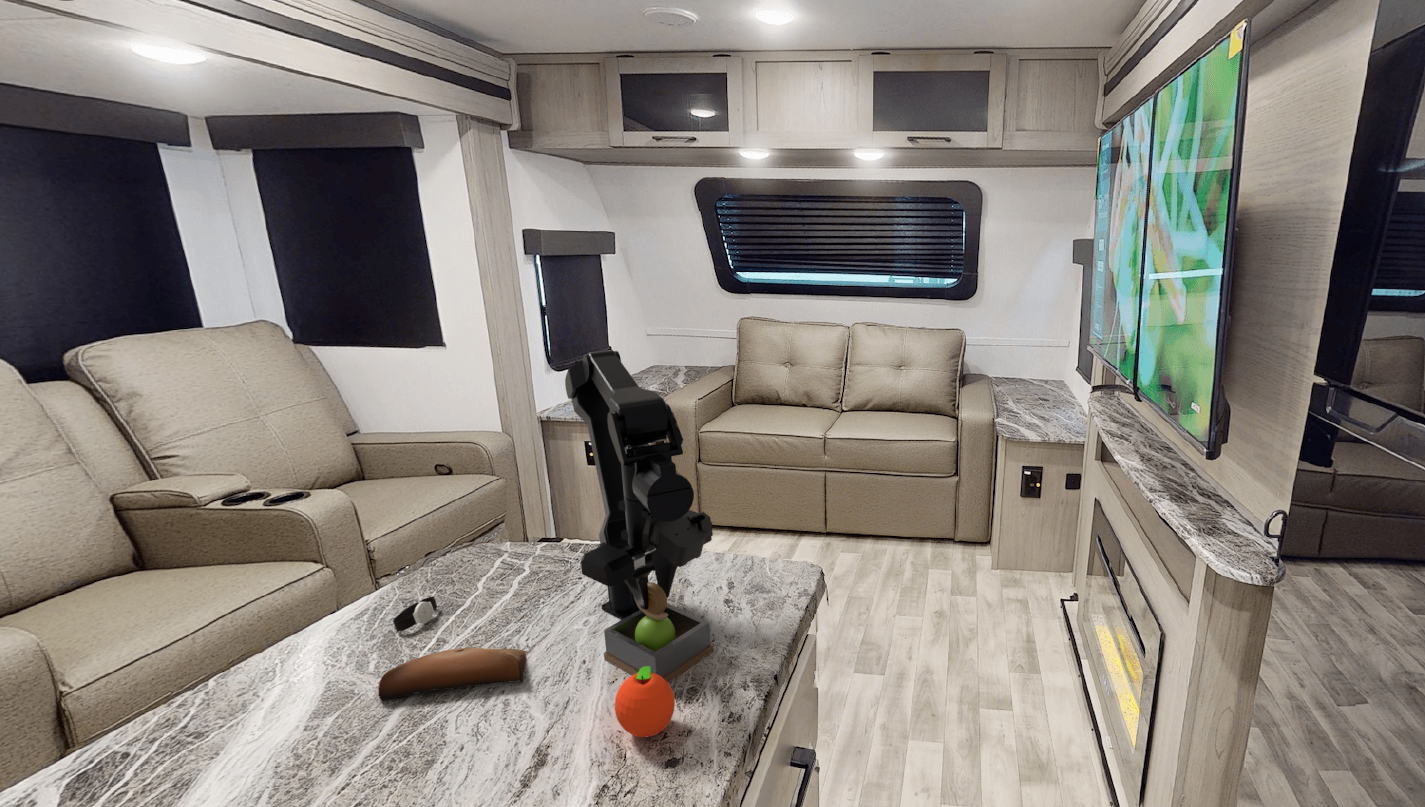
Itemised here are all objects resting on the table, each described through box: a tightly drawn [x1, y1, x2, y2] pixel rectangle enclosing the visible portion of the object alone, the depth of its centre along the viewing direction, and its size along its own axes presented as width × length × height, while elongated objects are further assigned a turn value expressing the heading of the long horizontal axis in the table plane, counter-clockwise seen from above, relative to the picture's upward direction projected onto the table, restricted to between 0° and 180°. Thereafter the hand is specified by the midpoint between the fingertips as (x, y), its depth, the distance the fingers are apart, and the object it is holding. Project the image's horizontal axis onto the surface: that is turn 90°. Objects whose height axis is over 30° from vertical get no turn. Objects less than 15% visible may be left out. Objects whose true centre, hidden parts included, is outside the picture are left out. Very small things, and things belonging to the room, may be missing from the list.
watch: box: [392, 596, 438, 632], centre depth 107 cm, size 8×5×4 cm, turn 162°
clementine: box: [614, 666, 676, 738], centre depth 80 cm, size 8×7×7 cm
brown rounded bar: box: [378, 646, 528, 701], centre depth 92 cm, size 18×7×7 cm
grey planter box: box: [603, 602, 715, 684], centre depth 94 cm, size 11×11×4 cm
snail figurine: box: [634, 581, 675, 652], centre depth 93 cm, size 5×6×12 cm
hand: (654, 602), depth 93 cm, fingers open, 3 cm apart
